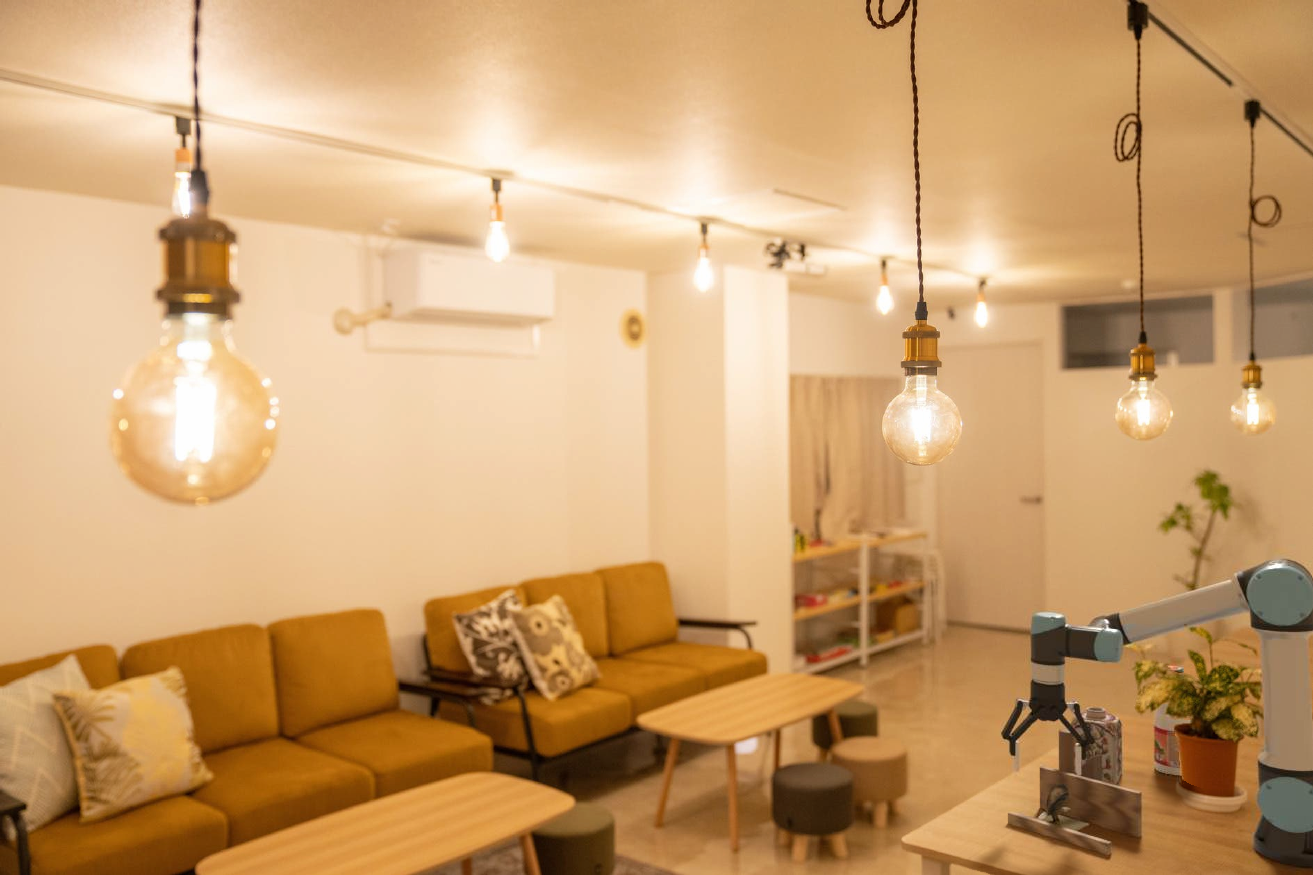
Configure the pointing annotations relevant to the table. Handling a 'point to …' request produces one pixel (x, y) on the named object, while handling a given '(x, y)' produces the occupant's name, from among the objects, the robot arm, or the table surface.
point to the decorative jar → (1102, 741)
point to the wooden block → (1066, 758)
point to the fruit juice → (1166, 739)
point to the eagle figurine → (1056, 803)
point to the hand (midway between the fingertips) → (1047, 771)
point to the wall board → (1085, 810)
